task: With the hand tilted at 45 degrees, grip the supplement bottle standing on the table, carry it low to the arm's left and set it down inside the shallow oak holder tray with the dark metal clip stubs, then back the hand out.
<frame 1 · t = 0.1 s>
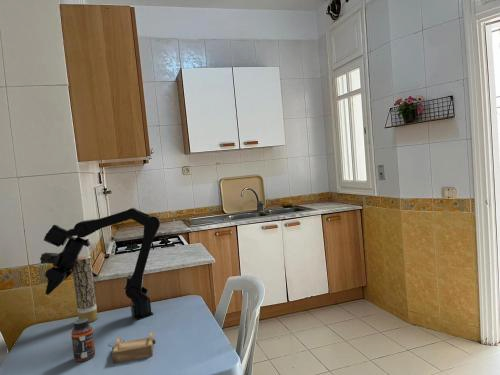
hand: (50, 290, 139), 15 cm above the table, tool tilted 35°, fingers open, 9 cm apart
supplement bottle: (85, 358, 114), on the table
paper tube: (88, 321, 147), on the table
holder: (134, 351, 115), on the table
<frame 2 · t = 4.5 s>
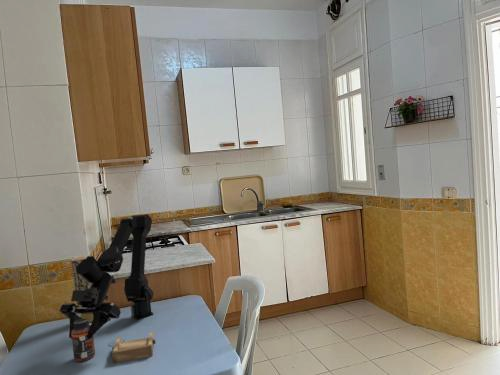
hand: (79, 338, 113), 7 cm above the table, tool tilted 45°, fingers closed on supplement bottle, 6 cm apart
supplement bottle: (85, 358, 114), on the table, touching gripper
everything else where it was.
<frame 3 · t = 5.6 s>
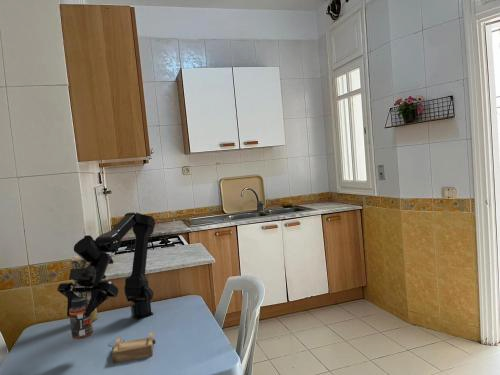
hand: (77, 316, 113), 13 cm above the table, tool tilted 45°, fingers closed on supplement bottle, 6 cm apart
supplement bottle: (83, 336, 114), point 6 cm above the table, touching gripper
everything else where it was.
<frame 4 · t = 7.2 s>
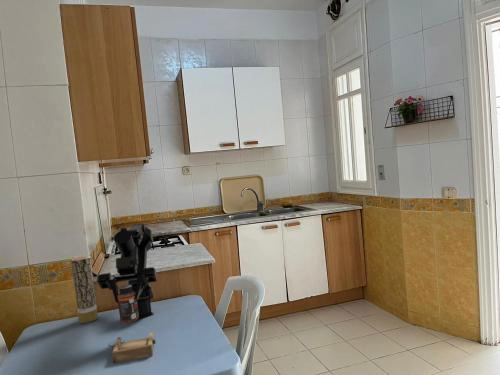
hand: (126, 301, 122), 13 cm above the table, tool tilted 45°, fingers closed on supplement bottle, 6 cm apart
supplement bottle: (130, 320, 124), point 6 cm above the table, touching gripper
everything else where it was.
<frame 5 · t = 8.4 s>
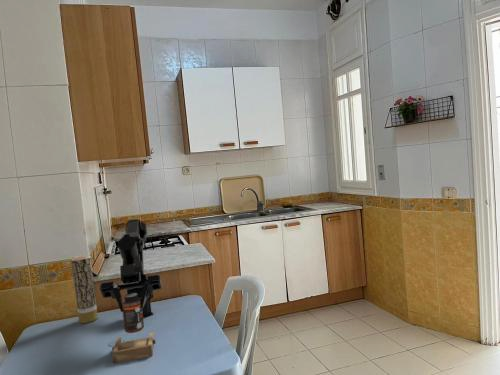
hand: (131, 309, 118), 12 cm above the table, tool tilted 45°, fingers closed on supplement bottle, 6 cm apart
supplement bottle: (134, 330, 120), point 4 cm above the table, touching gripper
everything else where it was.
when the fingers open (9 cm above the table, at t = 9.8 s): supplement bottle drops 1 cm, resting on holder.
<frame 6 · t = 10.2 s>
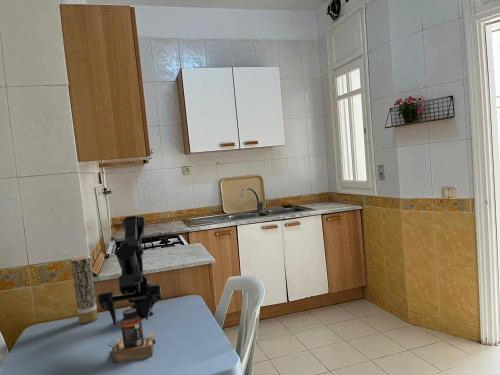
hand: (130, 322, 113), 10 cm above the table, tool tilted 45°, fingers open, 9 cm apart
supplement bottle: (134, 347, 115), point 1 cm above the table, touching holder
everything else where it was.
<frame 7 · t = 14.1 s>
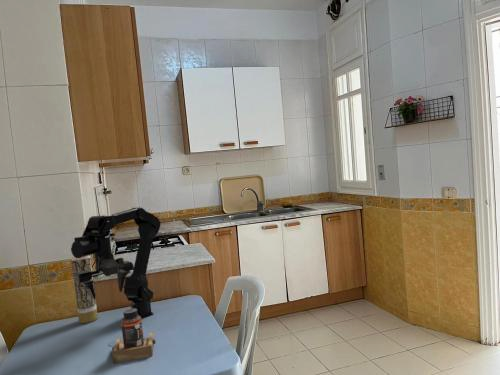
hand: (107, 295, 132), 13 cm above the table, tool pointing down, fingers open, 9 cm apart
nothing on the table moved.
at the end: supplement bottle 0.2 cm from the holder (horizontally); supplement bottle point 1.0 cm above the table; supplement bottle tilted 0° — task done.
